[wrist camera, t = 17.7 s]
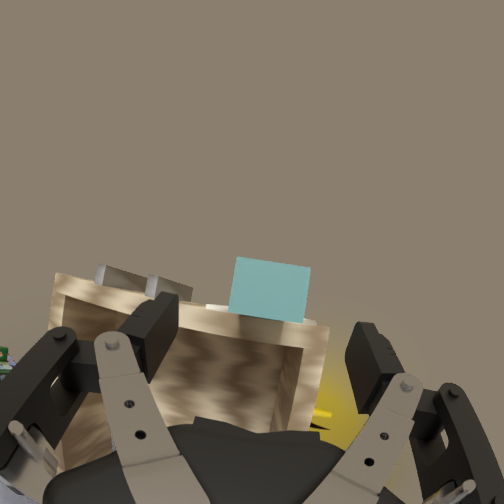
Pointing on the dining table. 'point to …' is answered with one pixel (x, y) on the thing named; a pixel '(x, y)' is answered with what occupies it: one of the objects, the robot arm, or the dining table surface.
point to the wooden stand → (194, 361)
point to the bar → (269, 290)
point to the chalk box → (5, 362)
